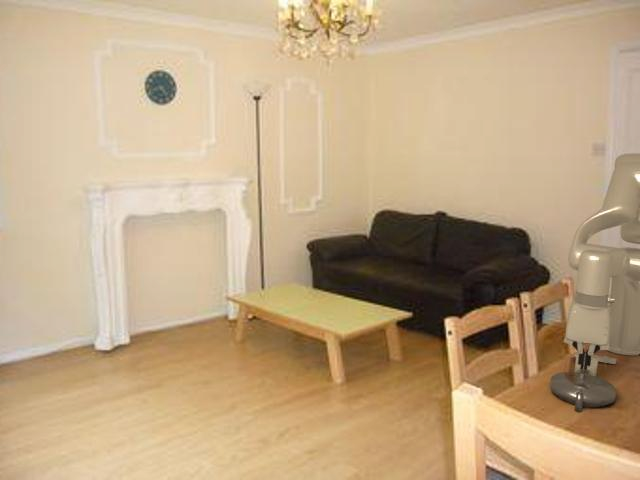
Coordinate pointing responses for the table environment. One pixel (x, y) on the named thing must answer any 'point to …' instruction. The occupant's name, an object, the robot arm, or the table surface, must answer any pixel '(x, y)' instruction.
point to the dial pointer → (579, 401)
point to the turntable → (581, 385)
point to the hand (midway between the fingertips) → (583, 367)
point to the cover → (590, 369)
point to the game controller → (606, 360)
